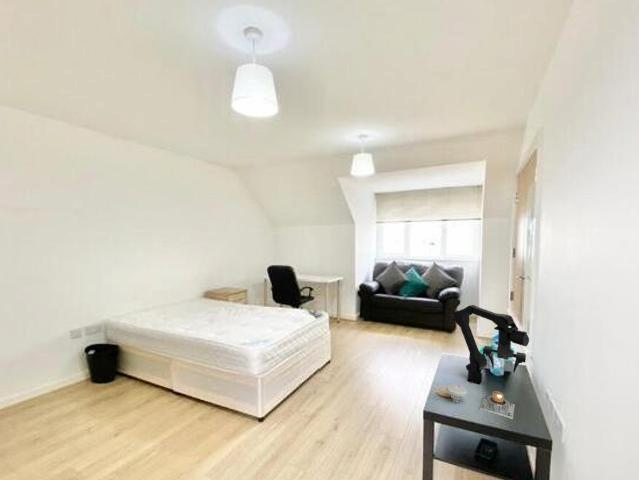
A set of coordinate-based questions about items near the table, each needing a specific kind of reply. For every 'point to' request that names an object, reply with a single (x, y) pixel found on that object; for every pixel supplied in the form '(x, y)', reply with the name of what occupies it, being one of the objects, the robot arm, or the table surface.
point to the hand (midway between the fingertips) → (503, 370)
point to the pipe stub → (497, 397)
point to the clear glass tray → (498, 407)
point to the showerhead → (456, 391)
